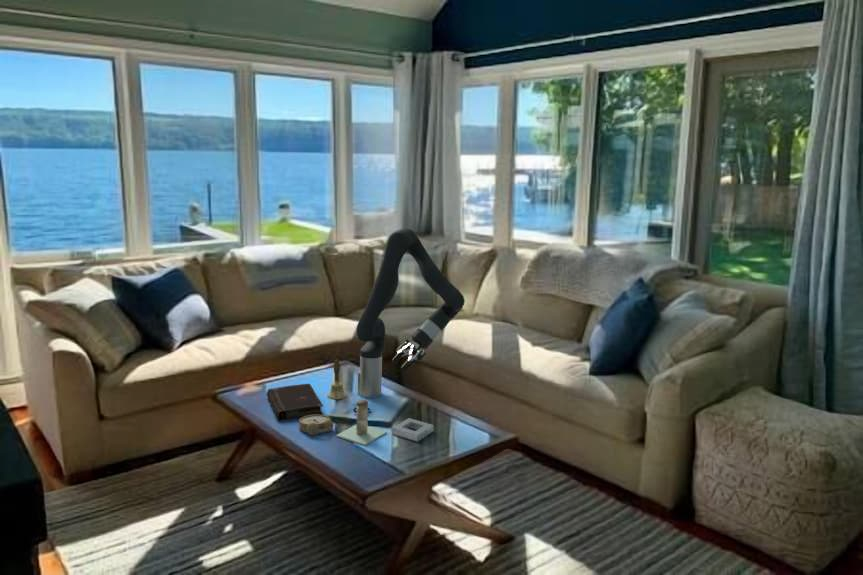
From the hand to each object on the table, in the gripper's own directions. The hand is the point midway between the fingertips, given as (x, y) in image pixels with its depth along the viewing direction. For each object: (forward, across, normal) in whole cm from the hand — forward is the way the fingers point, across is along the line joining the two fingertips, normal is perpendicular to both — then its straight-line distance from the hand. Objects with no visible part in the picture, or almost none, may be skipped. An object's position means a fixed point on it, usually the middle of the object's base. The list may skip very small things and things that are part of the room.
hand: (397, 366), depth 241 cm
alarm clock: (+37, -6, -4) cm, 38 cm away
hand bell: (+25, -35, +9) cm, 44 cm away
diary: (+39, -31, -4) cm, 49 cm away
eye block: (+14, +10, +18) cm, 25 cm away
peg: (+27, +5, +5) cm, 28 cm away
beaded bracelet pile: (+22, -14, +11) cm, 29 cm away
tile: (+27, +5, +5) cm, 28 cm away
